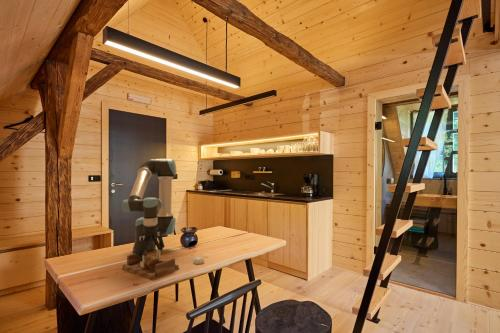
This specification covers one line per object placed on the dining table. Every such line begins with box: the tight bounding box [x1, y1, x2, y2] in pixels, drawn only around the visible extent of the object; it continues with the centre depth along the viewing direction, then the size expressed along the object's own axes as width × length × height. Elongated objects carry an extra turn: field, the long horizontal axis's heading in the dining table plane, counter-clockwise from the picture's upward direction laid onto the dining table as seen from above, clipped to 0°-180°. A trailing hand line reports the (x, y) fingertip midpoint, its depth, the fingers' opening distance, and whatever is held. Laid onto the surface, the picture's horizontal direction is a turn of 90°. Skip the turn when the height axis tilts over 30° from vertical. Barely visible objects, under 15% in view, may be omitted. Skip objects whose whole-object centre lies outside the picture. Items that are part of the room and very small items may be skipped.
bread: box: [139, 255, 159, 270], centre depth 153 cm, size 6×19×6 cm, turn 43°
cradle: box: [121, 250, 180, 281], centre depth 152 cm, size 27×18×7 cm, turn 57°
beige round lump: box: [192, 255, 205, 265], centre depth 163 cm, size 6×6×3 cm
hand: (150, 263), depth 152 cm, fingers open, 10 cm apart
